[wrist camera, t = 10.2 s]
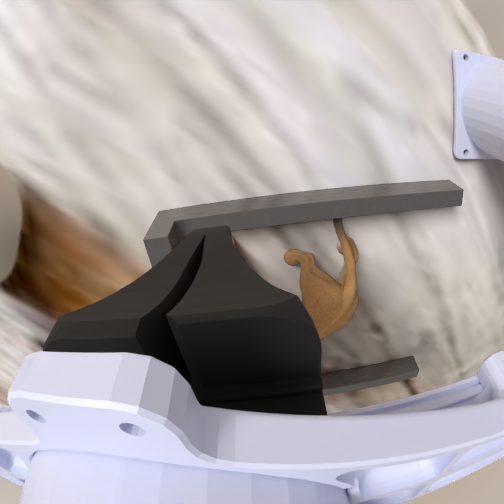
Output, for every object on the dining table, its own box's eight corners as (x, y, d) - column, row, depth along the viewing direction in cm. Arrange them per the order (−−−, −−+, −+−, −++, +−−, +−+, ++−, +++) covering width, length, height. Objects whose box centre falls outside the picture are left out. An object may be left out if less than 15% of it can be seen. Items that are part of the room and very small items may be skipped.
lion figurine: (288, 354, 29) (299, 440, 21) (233, 343, 28) (231, 432, 20) (366, 216, 22) (421, 295, 14) (298, 191, 21) (329, 269, 13)
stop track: (449, 180, 20) (479, 201, 17) (410, 362, 31) (422, 391, 27) (158, 211, 21) (143, 240, 18) (217, 391, 32) (215, 423, 28)
